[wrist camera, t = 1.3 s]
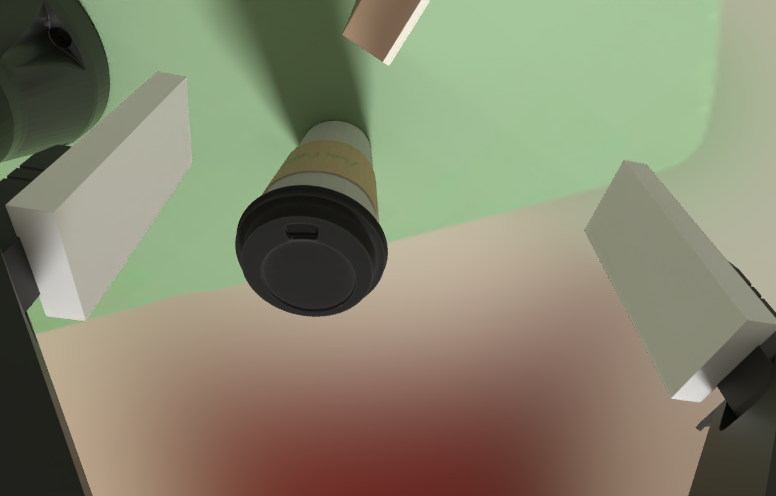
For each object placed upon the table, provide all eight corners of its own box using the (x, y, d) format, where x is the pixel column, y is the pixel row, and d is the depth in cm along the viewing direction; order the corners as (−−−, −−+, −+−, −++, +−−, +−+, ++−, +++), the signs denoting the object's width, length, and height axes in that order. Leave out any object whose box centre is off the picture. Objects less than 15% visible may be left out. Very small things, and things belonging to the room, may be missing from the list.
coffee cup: (357, 77, 36) (332, 177, 24) (412, 175, 41) (413, 297, 29) (258, 130, 39) (192, 242, 27) (320, 216, 44) (288, 341, 32)
